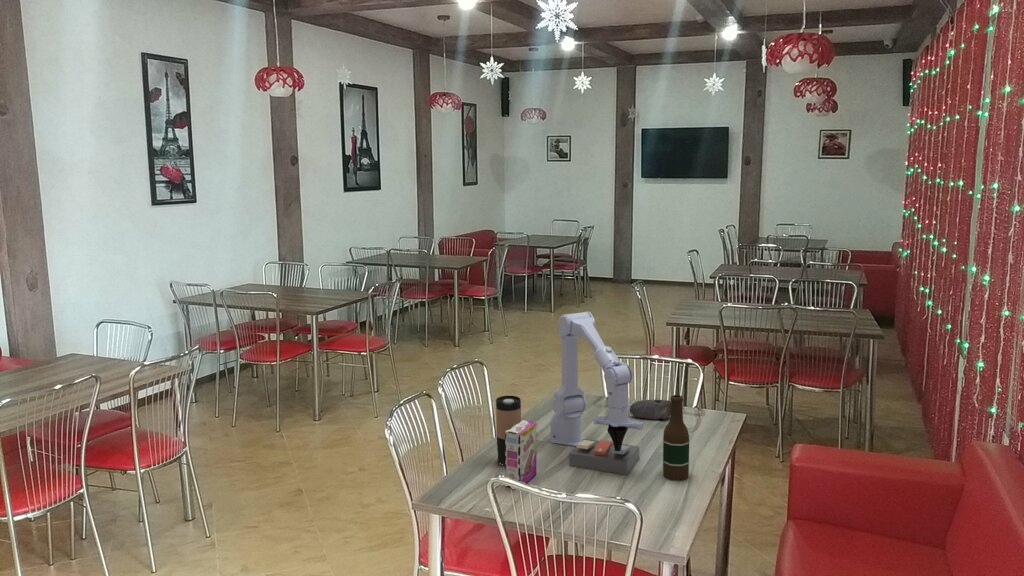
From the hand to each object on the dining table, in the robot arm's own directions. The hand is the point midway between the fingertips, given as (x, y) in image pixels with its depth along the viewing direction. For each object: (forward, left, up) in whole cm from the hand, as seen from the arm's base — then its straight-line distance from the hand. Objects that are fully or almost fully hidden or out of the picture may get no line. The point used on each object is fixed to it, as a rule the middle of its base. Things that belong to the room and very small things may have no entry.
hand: (618, 449), depth 223 cm
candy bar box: (-24, -17, -7) cm, 30 cm away
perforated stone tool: (-3, +48, -7) cm, 48 cm away
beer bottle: (+16, +3, -7) cm, 18 cm away
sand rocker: (-11, +3, -2) cm, 12 cm away
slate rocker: (0, +3, -2) cm, 4 cm away
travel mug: (-33, -6, -7) cm, 34 cm away
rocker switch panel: (-6, +4, -6) cm, 9 cm away
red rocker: (-6, +3, -2) cm, 7 cm away
